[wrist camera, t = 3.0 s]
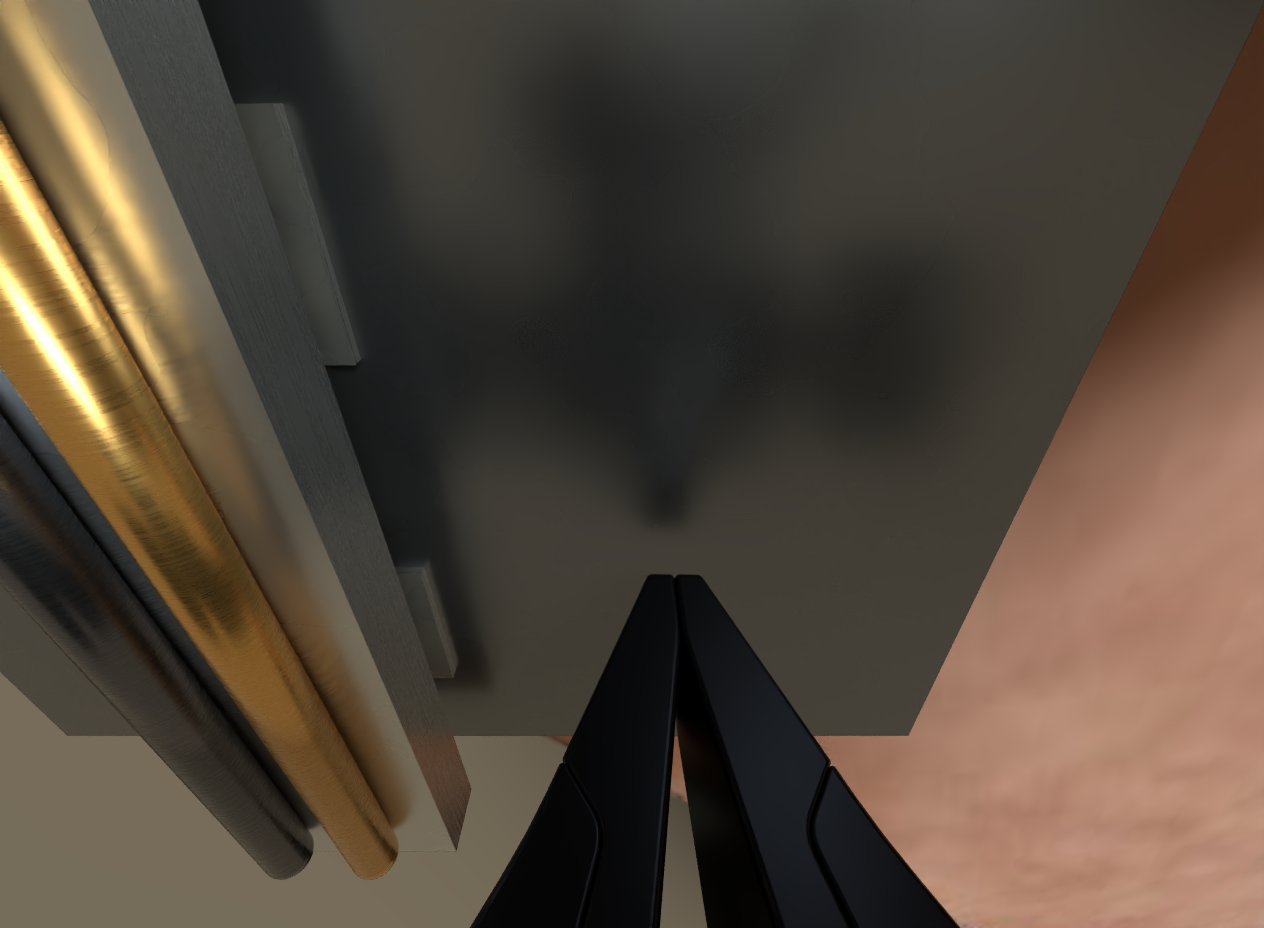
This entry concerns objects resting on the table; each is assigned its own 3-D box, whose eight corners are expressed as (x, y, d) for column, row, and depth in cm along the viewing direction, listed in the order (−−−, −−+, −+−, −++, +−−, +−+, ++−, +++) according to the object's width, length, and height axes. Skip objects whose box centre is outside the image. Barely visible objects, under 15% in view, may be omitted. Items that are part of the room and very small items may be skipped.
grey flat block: (1190, -492, 6) (1960, -1314, 3) (852, 604, 16) (913, 748, 13) (-535, -450, 6) (-2031, -1153, 3) (183, 606, 16) (56, 747, 13)
